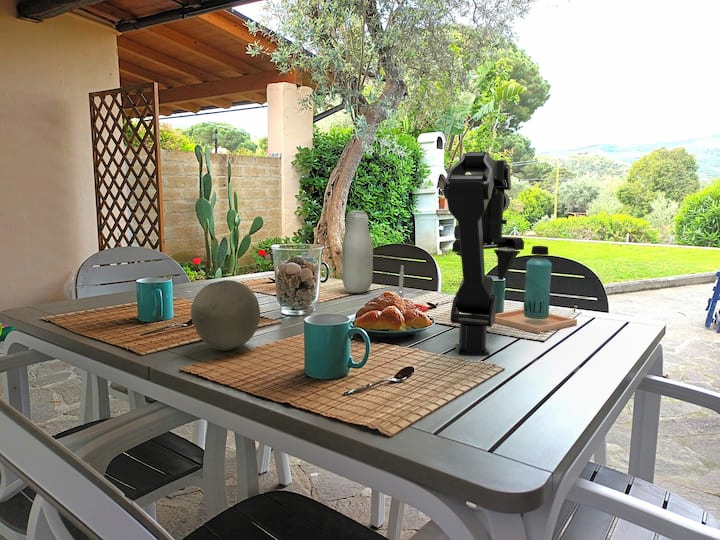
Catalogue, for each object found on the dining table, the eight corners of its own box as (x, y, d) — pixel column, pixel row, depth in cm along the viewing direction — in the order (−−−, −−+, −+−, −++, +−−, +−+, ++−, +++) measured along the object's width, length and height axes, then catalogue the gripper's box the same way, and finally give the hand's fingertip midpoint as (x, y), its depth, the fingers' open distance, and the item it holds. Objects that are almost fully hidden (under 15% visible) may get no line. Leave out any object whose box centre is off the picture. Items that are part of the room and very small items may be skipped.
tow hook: (431, 309, 154) (402, 305, 158) (434, 266, 152) (404, 263, 156) (422, 316, 147) (391, 311, 150) (425, 270, 144) (394, 267, 148)
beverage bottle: (542, 319, 139) (547, 244, 136) (553, 325, 133) (558, 247, 130) (518, 319, 139) (522, 244, 136) (528, 325, 132) (532, 247, 130)
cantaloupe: (190, 344, 115) (188, 277, 113) (255, 339, 120) (254, 274, 118) (194, 364, 102) (191, 288, 100) (266, 357, 107) (265, 284, 105)
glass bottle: (358, 289, 184) (359, 209, 180) (377, 293, 176) (378, 210, 172) (336, 292, 178) (336, 209, 174) (355, 296, 170) (355, 210, 166)
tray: (537, 334, 126) (538, 328, 126) (487, 320, 139) (487, 315, 139) (576, 325, 135) (577, 319, 135) (525, 313, 148) (525, 308, 148)
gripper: (490, 213, 133) (488, 273, 135) (436, 214, 123) (434, 280, 125) (527, 214, 124) (523, 279, 126) (471, 216, 113) (469, 286, 116)
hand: (487, 281), depth 123 cm, fingers open, 9 cm apart
